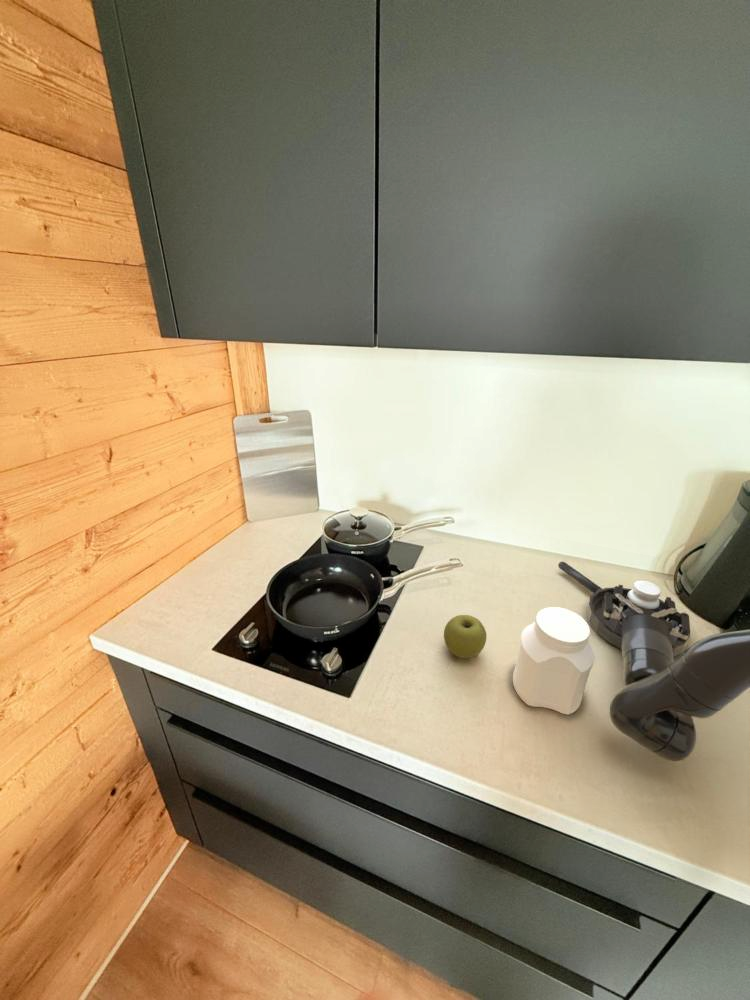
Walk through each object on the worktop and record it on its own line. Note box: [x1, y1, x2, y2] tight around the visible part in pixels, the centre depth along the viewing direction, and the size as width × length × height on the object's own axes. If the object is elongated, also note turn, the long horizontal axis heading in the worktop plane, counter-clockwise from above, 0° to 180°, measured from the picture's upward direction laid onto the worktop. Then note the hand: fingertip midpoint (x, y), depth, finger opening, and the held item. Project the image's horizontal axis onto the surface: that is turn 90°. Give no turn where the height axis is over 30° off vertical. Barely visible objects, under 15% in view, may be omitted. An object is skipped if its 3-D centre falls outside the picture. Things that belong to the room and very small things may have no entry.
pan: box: [585, 586, 691, 658], centre depth 88 cm, size 18×18×3 cm
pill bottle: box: [620, 580, 662, 625], centre depth 87 cm, size 6×6×10 cm
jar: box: [512, 606, 596, 716], centre depth 72 cm, size 12×10×15 cm
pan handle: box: [557, 561, 603, 594], centre depth 101 cm, size 2×13×2 cm, turn 22°
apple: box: [443, 614, 487, 659], centre depth 82 cm, size 8×8×7 cm
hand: (642, 594), depth 87 cm, fingers open, 8 cm apart
